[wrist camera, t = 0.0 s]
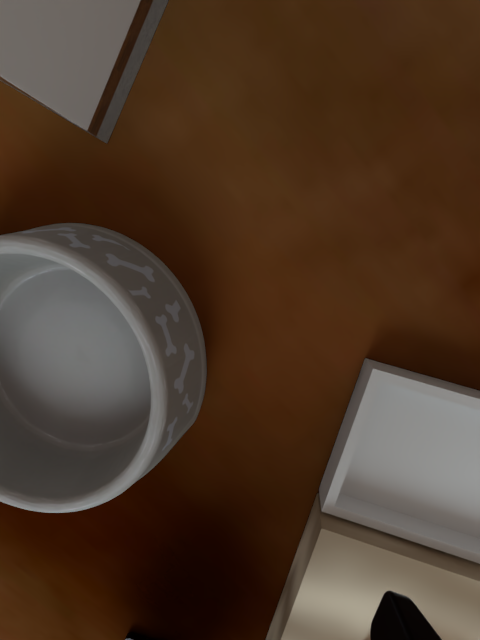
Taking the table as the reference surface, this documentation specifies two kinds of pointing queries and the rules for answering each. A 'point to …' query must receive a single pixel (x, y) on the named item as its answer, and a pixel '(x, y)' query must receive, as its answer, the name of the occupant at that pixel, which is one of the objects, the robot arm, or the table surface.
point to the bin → (409, 460)
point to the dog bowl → (90, 365)
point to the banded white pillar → (77, 54)
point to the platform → (371, 583)
